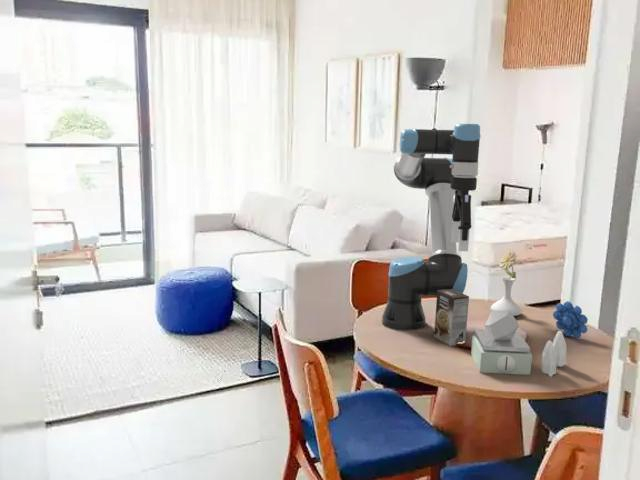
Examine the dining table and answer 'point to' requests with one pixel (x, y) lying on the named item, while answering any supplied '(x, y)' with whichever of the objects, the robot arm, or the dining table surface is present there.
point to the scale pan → (501, 342)
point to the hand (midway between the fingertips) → (459, 246)
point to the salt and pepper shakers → (554, 354)
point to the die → (501, 325)
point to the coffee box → (451, 316)
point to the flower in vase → (507, 286)
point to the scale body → (500, 360)
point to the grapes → (570, 319)
